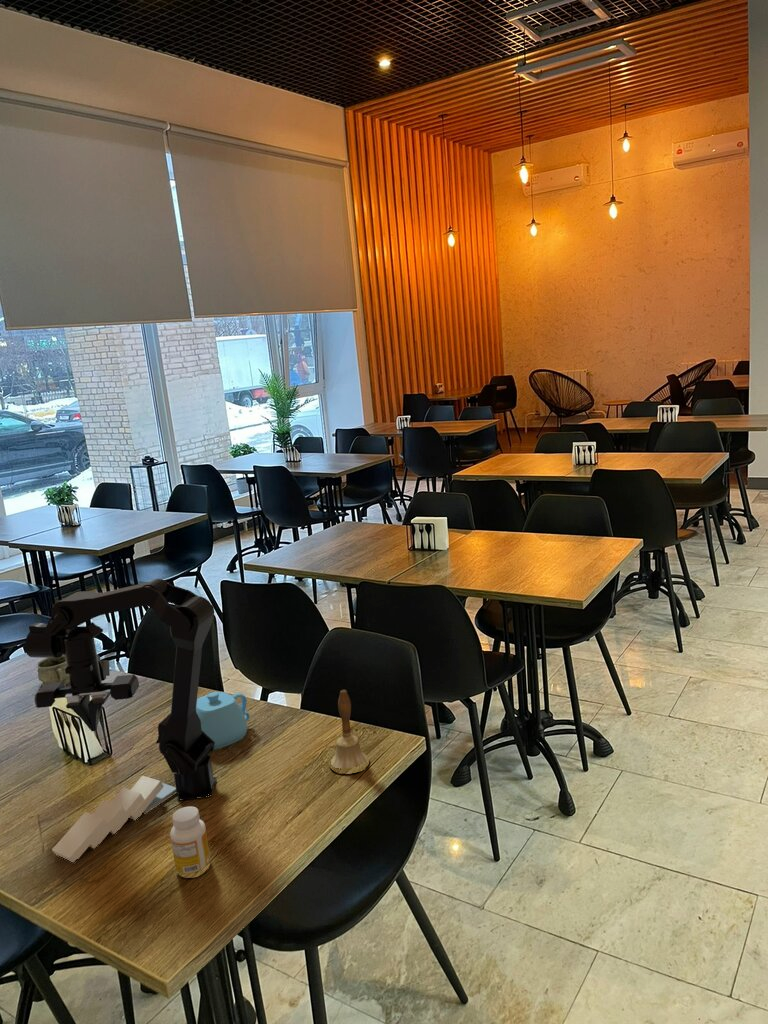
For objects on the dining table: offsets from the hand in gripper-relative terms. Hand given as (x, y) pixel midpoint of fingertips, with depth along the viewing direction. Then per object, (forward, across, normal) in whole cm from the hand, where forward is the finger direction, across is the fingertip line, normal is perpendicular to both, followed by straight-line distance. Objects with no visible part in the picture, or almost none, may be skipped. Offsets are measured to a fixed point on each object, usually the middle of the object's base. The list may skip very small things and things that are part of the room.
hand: (94, 730), depth 153 cm
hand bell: (+12, -50, +2) cm, 52 cm away
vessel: (+12, +30, -57) cm, 66 cm away
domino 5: (+12, -9, +11) cm, 19 cm away
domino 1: (+11, 0, +24) cm, 26 cm away
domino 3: (+11, -5, +17) cm, 21 cm away
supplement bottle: (+12, -24, +30) cm, 40 cm away
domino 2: (+11, -3, +20) cm, 24 cm away
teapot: (+12, -20, -14) cm, 27 cm away
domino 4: (+11, -8, +13) cm, 19 cm away
